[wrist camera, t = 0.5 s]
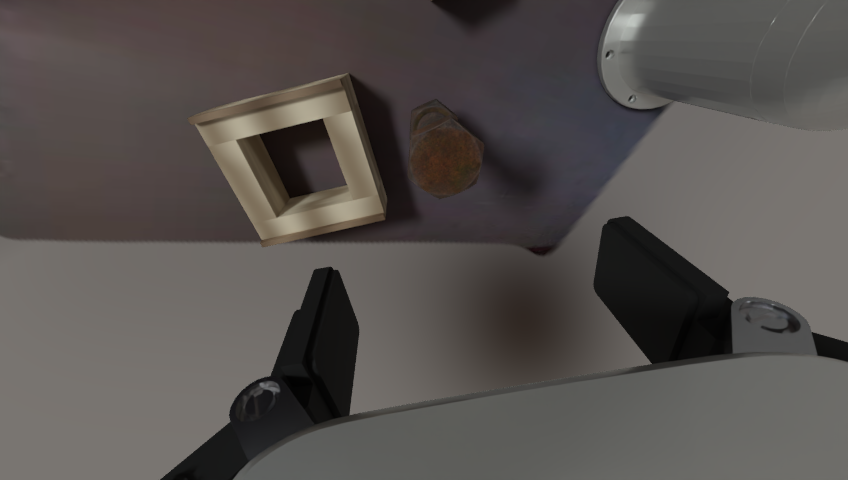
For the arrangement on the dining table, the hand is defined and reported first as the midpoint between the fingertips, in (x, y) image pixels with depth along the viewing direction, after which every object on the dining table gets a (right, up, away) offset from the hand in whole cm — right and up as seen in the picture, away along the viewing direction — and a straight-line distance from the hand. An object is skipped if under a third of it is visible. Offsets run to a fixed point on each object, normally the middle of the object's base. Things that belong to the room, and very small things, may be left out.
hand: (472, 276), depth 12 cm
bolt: (-1, +15, +24) cm, 28 cm away
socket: (-15, +11, +25) cm, 31 cm away
